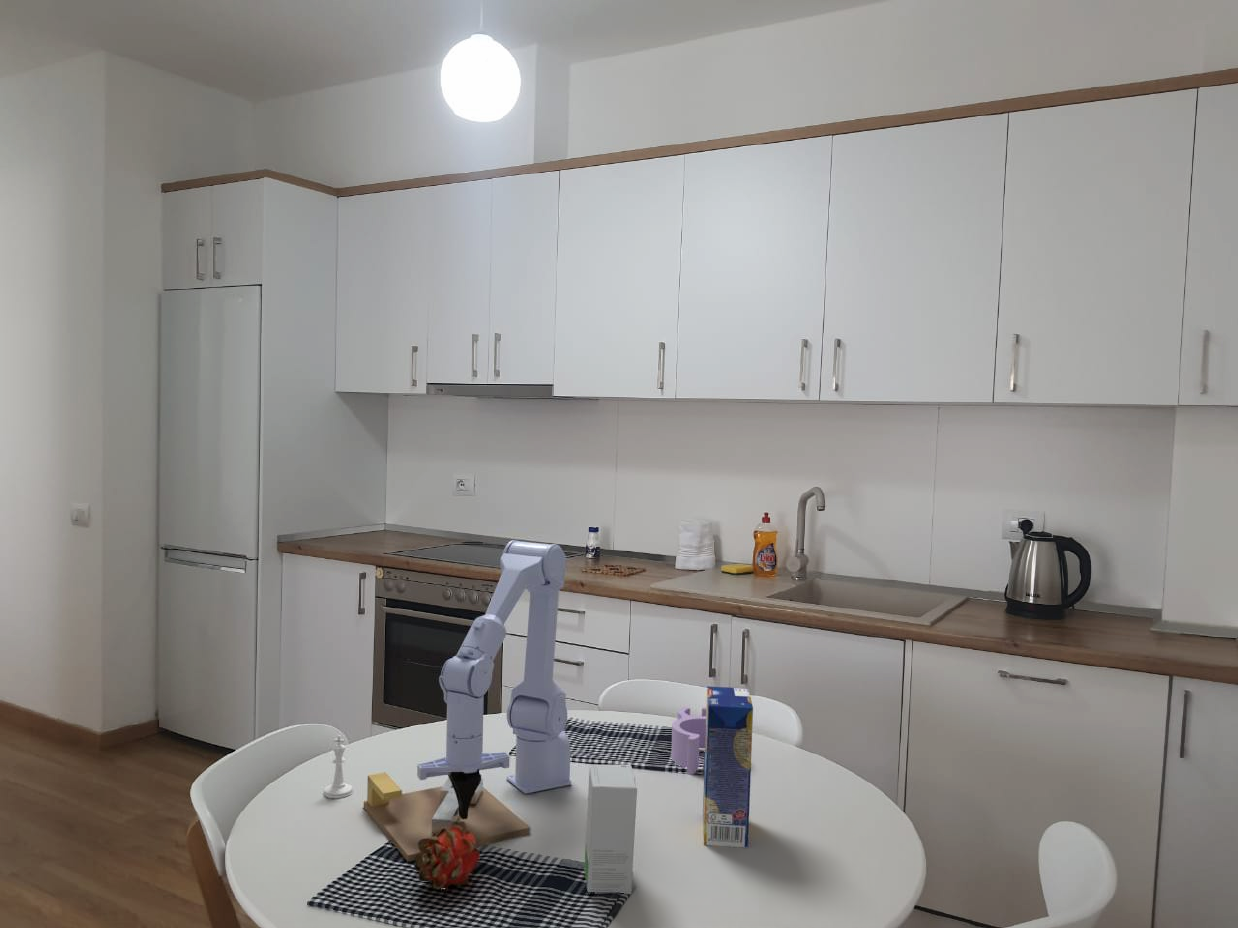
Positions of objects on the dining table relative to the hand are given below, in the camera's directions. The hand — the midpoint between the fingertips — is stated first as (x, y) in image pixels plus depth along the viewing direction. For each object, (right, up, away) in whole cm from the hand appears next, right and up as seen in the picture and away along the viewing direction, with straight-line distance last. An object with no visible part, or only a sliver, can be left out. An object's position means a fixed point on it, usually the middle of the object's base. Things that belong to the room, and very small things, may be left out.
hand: (463, 816), depth 147 cm
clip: (+41, -2, +36) cm, 55 cm away
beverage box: (+42, -3, +2) cm, 42 cm away
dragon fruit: (+1, -3, -17) cm, 17 cm away
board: (-4, -2, +3) cm, 5 cm away
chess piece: (-24, -1, +13) cm, 27 cm away
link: (-2, -1, +4) cm, 5 cm away
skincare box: (+23, -4, -15) cm, 28 cm away
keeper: (-14, 0, +4) cm, 14 cm away
